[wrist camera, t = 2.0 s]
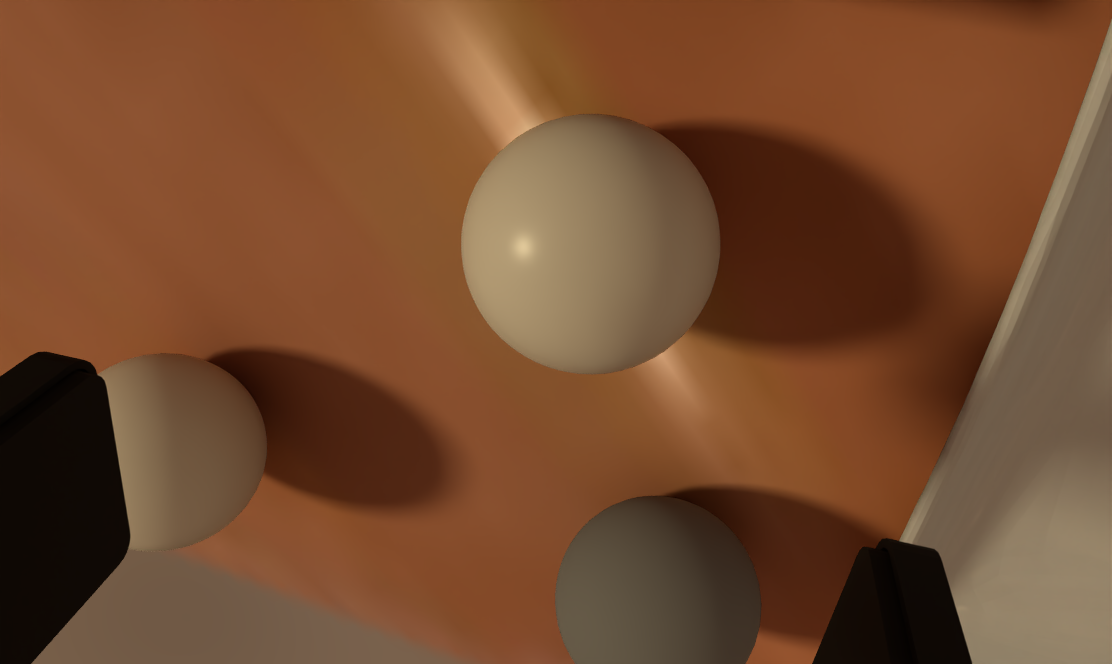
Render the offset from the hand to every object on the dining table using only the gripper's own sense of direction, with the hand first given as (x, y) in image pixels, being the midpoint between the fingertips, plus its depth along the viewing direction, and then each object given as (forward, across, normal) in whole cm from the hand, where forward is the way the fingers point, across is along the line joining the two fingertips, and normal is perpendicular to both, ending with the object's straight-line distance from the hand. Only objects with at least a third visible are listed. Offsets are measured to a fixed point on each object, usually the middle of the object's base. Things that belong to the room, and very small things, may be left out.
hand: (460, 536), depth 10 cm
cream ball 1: (+10, +10, +7) cm, 16 cm away
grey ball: (+10, -3, +8) cm, 14 cm away
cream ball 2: (+10, 0, -1) cm, 10 cm away
